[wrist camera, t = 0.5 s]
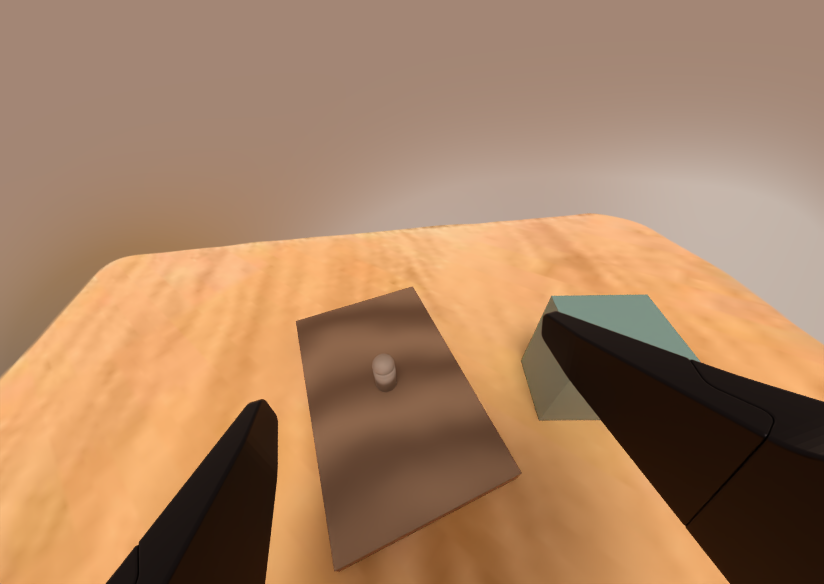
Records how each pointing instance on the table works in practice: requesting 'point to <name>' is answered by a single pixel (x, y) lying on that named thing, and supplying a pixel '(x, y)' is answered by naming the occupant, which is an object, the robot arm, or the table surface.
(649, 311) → the seafoam square prism
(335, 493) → the stud board
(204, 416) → the table surface
